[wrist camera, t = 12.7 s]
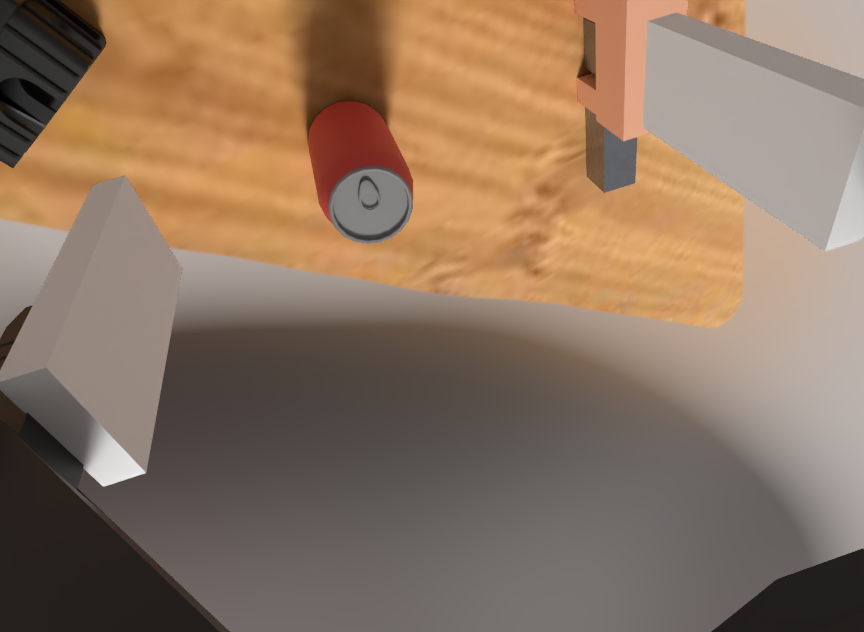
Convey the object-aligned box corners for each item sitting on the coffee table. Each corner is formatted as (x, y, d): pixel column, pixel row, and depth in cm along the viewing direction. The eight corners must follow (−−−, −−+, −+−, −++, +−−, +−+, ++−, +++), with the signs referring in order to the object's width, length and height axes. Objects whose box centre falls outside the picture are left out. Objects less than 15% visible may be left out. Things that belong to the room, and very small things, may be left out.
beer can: (379, 89, 44) (412, 148, 35) (395, 167, 48) (427, 237, 39) (296, 108, 44) (308, 173, 34) (319, 185, 48) (335, 261, 39)
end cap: (-2, -59, 34) (-48, -45, 29) (114, 34, 38) (92, 61, 33) (-82, 67, 37) (-137, 100, 31) (34, 141, 41) (3, 180, 36)
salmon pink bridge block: (574, -23, 43) (626, -4, 36) (628, -39, 43) (690, -22, 37) (577, 106, 49) (623, 141, 43) (625, 92, 49) (677, 124, 43)
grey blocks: (580, -144, 38) (604, -144, 35) (621, -155, 38) (649, -156, 36) (586, 176, 54) (604, 192, 51) (616, 167, 54) (635, 183, 51)
